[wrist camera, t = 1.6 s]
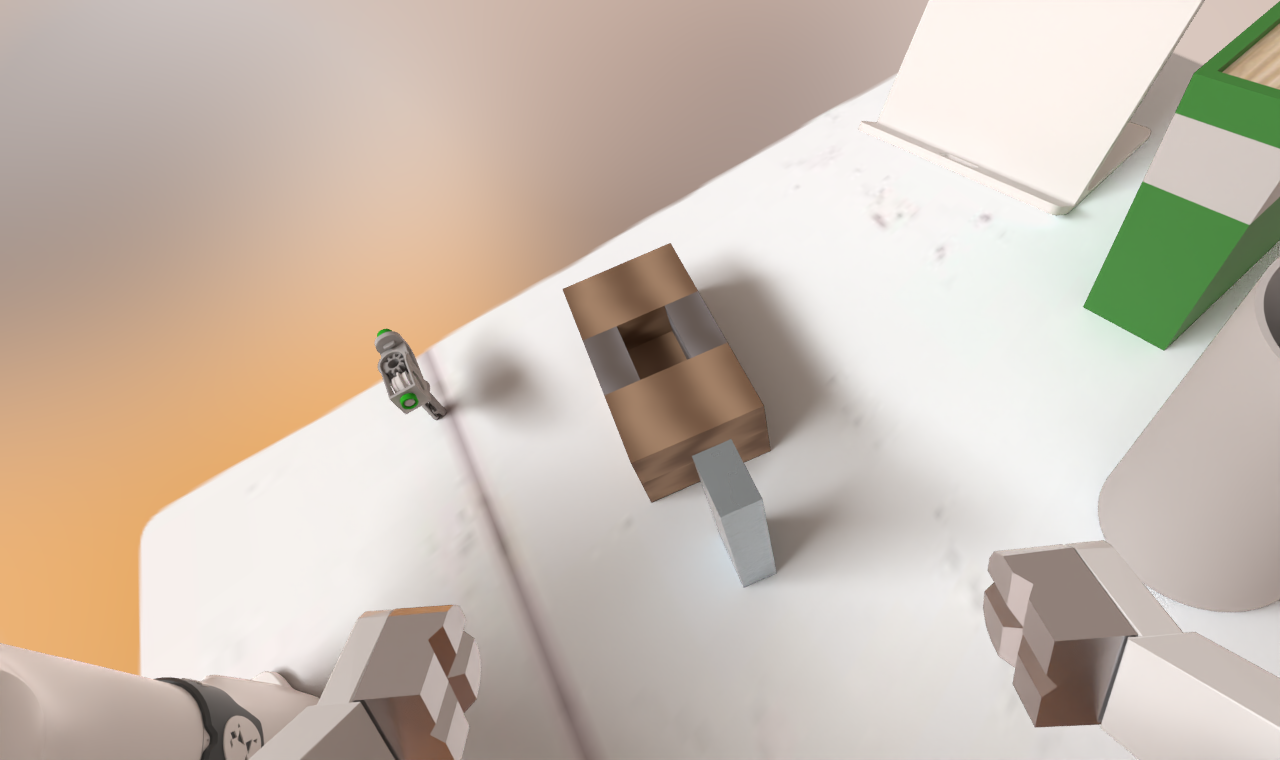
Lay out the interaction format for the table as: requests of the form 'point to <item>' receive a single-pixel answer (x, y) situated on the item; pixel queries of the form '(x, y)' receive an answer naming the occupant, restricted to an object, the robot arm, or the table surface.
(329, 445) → the table surface
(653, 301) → the brown boxy piece
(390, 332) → the mechanical component
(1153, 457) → the cylinder vase
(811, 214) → the table surface
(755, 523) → the tall rectangular metal block
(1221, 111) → the hardback book
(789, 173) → the table surface
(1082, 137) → the tablet stand
